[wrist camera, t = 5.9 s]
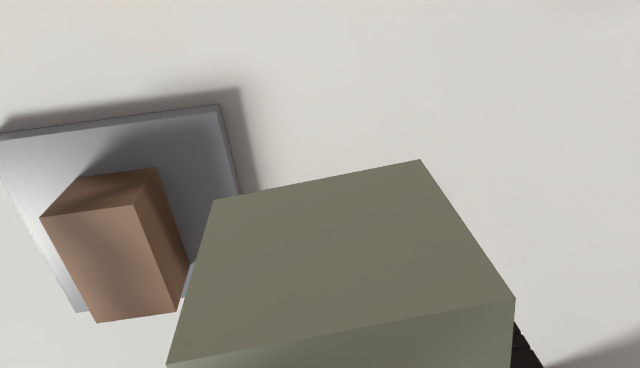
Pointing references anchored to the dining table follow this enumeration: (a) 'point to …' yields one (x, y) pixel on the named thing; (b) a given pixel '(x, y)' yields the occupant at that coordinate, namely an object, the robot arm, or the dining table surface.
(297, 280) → the sage brick
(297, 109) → the dining table surface
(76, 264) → the walnut brick
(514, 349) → the robot arm
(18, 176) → the baseplate
